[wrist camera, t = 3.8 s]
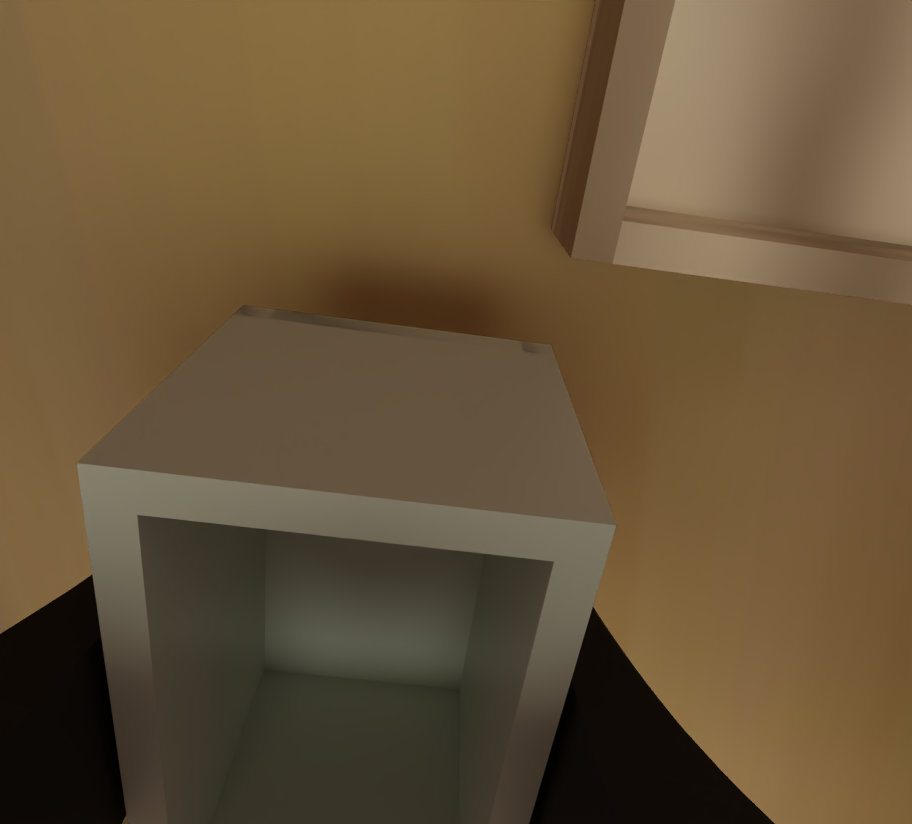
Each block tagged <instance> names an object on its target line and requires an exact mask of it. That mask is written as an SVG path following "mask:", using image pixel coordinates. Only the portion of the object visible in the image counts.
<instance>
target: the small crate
mask: <svg viewBox="0 0 912 824" xmlns="http://www.w3.org/2000/svg"><path fill="white" fill-rule="evenodd" d="M77 469H78V476H79V483H80V490H81V498H82V505H83V512H84V519H85V526H86V533H87V540H88V547H89V554H90V561H91V568H92V575H93V582H94V589H95V596H96V603H97V611H98V618H99V625H100V632H101V639H102V646H103V653H104V660H105V667H106V674H107V681H108V688H109V695H110V702H111V709H112V716H113V724H114V731H115V738H116V745H117V752H118V759H119V766H120V773H121V780H122V787H123V794H124V801H125V808H126V815H127V822H128V824H529V822H530V819H531V815H532V812H533V809H534V805H535V802H536V798H537V795H538V791H539V788H540V785H541V781H542V778H543V774H544V771H545V768H546V764H547V761H548V757H549V754H550V751H551V747H552V744H553V740H554V737H555V734H556V730H557V727H558V723H559V720H560V716H561V713H562V710H563V706H564V703H565V699H566V696H567V693H568V689H569V686H570V682H571V679H572V676H573V672H574V669H575V665H576V662H577V659H578V655H579V652H580V648H581V645H582V641H583V638H584V635H585V631H586V628H587V624H588V621H589V618H590V614H591V611H592V607H593V604H594V601H595V597H596V594H597V590H598V587H599V584H600V580H601V577H602V573H603V570H604V566H605V563H606V560H607V556H608V553H609V549H610V546H611V543H612V539H613V536H614V532H615V529H616V526H617V525H616V523H615V520H614V517H613V514H612V512H611V509H610V506H609V504H608V501H607V498H606V495H605V493H604V490H603V487H602V484H601V482H600V479H599V476H598V473H597V471H596V468H595V465H594V462H593V460H592V457H591V454H590V451H589V449H588V446H587V443H586V440H585V438H584V435H583V432H582V429H581V427H580V424H579V421H578V419H577V416H576V413H575V410H574V408H573V405H572V402H571V399H570V397H569V394H568V391H567V388H566V386H565V383H564V380H563V377H562V375H561V372H560V369H559V366H558V364H557V361H556V358H555V355H554V353H553V350H552V347H551V345H548V344H540V343H532V342H525V341H517V340H509V339H501V338H494V337H486V336H478V335H470V334H463V333H455V332H447V331H440V330H432V329H424V328H416V327H409V326H401V325H393V324H385V323H378V322H370V321H362V320H355V319H347V318H339V317H331V316H324V315H316V314H308V313H300V312H293V311H285V310H277V309H270V308H262V307H254V306H246V305H243V306H242V307H241V308H240V309H239V310H238V311H237V312H236V313H235V314H234V315H233V316H232V317H231V318H230V319H229V320H227V321H226V322H225V323H224V324H223V325H222V326H221V327H220V328H219V329H218V330H217V331H216V332H215V333H214V334H213V335H212V336H211V337H209V338H208V339H207V340H206V341H205V342H204V343H203V344H202V345H201V346H200V347H199V348H198V349H197V350H196V351H195V352H194V353H193V354H192V355H190V356H189V357H188V358H187V359H186V360H185V361H184V362H183V363H182V364H181V365H180V366H179V367H178V368H177V369H176V370H175V371H174V372H172V373H171V374H170V375H169V376H168V377H167V378H166V379H165V380H164V381H163V382H162V383H161V384H160V385H159V386H158V387H157V388H156V389H154V390H153V391H152V392H151V393H150V394H149V395H148V396H147V397H146V398H145V399H144V400H143V401H142V402H141V403H140V404H139V405H138V406H136V407H135V408H134V409H133V410H132V411H131V412H130V413H129V414H128V415H127V416H126V417H125V418H124V419H123V420H122V421H121V422H120V423H119V424H117V425H116V426H115V427H114V428H113V429H112V430H111V431H110V432H109V433H108V434H107V435H106V436H105V437H104V438H103V439H102V440H101V441H99V442H98V443H97V444H96V445H95V446H94V447H93V448H92V449H91V450H90V451H89V452H88V453H87V454H86V455H85V456H84V457H83V458H81V459H80V460H79V461H78V462H77Z"/></svg>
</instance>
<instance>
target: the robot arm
mask: <svg viewBox="0 0 912 824" xmlns="http://www.w3.org/2000/svg"><path fill="white" fill-rule="evenodd" d="M125 816H126V808H125V801H124V794H123V787H122V780H121V773H120V766H119V759H118V752H117V745H116V738H115V731H114V724H113V716H112V709H111V702H110V695H109V688H108V681H107V674H106V667H105V660H104V653H103V646H102V639H101V632H100V625H99V618H98V611H97V603H96V596H95V589H94V582H93V575H91V576H90V577H88V578H87V579H85V580H84V581H82V582H81V583H79V584H78V585H76V586H75V587H73V588H72V589H71V590H69V591H68V592H66V593H65V594H63V595H61V596H60V597H58V598H57V599H55V600H53V601H52V602H50V603H49V604H47V605H46V606H44V607H42V608H41V609H39V610H38V611H36V612H34V613H33V614H31V615H30V616H28V617H27V618H25V619H23V620H22V621H20V622H19V623H17V624H15V625H14V626H12V627H11V628H9V629H8V630H6V631H4V632H3V633H1V634H0V824H122V822H123V820H124V818H125ZM529 824H775V823H773V822H772V821H771V820H770V819H769V818H768V817H767V816H766V815H765V814H764V813H763V812H762V811H761V810H760V809H759V808H758V807H757V806H756V805H755V804H754V803H753V802H752V801H751V800H750V799H749V798H748V797H746V796H745V795H744V794H743V793H742V792H741V790H740V789H739V788H738V787H737V786H736V785H735V784H734V783H733V782H732V781H731V780H730V779H729V778H728V777H727V776H726V775H725V774H724V773H723V772H722V771H721V770H720V769H719V768H718V767H717V766H716V765H715V763H714V762H713V761H712V760H711V759H710V758H709V757H708V756H707V755H706V754H705V752H704V751H703V750H702V749H701V748H700V747H699V746H698V745H697V744H696V743H695V741H694V740H693V739H692V738H691V737H690V736H689V735H688V734H687V733H686V732H685V730H684V729H683V728H682V727H681V726H680V725H679V723H678V722H677V721H676V720H675V718H674V717H673V716H672V715H671V714H670V712H669V711H668V710H667V709H666V707H665V706H664V705H663V704H662V702H661V701H660V700H659V699H658V697H657V696H656V695H655V694H654V692H653V691H652V690H651V688H650V687H649V686H648V685H647V683H646V682H645V681H644V679H643V678H642V677H641V675H640V674H639V673H638V671H637V670H636V669H635V667H634V666H633V664H632V663H631V662H630V660H629V659H628V657H627V656H626V655H625V653H624V652H623V650H622V649H621V648H620V646H619V645H618V643H617V642H616V640H615V639H614V638H613V636H612V635H611V633H610V632H609V630H608V629H607V627H606V626H605V624H604V623H603V621H602V620H601V618H600V617H599V615H598V614H597V612H596V611H595V609H594V608H593V607H592V611H591V614H590V618H589V621H588V624H587V628H586V631H585V635H584V638H583V641H582V645H581V648H580V652H579V655H578V659H577V662H576V665H575V669H574V672H573V676H572V679H571V682H570V686H569V689H568V693H567V696H566V699H565V703H564V706H563V710H562V713H561V716H560V720H559V723H558V727H557V730H556V734H555V737H554V740H553V744H552V747H551V751H550V754H549V757H548V761H547V764H546V768H545V771H544V774H543V778H542V781H541V785H540V788H539V791H538V795H537V798H536V802H535V805H534V809H533V812H532V815H531V819H530V822H529Z"/></svg>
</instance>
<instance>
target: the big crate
mask: <svg viewBox="0 0 912 824" xmlns="http://www.w3.org/2000/svg"><path fill="white" fill-rule="evenodd" d="M551 230H552V231H553V233H554V234H555V236H556V237H557V239H558V240H559V242H560V243H561V244H562V246H563V247H564V249H565V250H566V252H567V253H568V255H569V256H570V258H573V259H580V260H588V261H595V262H602V263H610V264H617V265H624V266H632V267H639V268H646V269H653V270H661V271H668V272H675V273H683V274H690V275H697V276H704V277H712V278H719V279H726V280H734V281H741V282H748V283H756V284H763V285H770V286H777V287H785V288H792V289H799V290H807V291H814V292H821V293H829V294H836V295H843V296H850V297H858V298H865V299H872V300H880V301H887V302H894V303H902V304H909V305H912V0H595V5H594V11H593V16H592V21H591V26H590V31H589V37H588V42H587V47H586V52H585V57H584V62H583V68H582V73H581V78H580V83H579V88H578V94H577V99H576V104H575V109H574V114H573V119H572V125H571V130H570V135H569V140H568V145H567V151H566V156H565V161H564V166H563V171H562V176H561V182H560V187H559V192H558V197H557V202H556V208H555V213H554V218H553V223H552V228H551Z"/></svg>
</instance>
